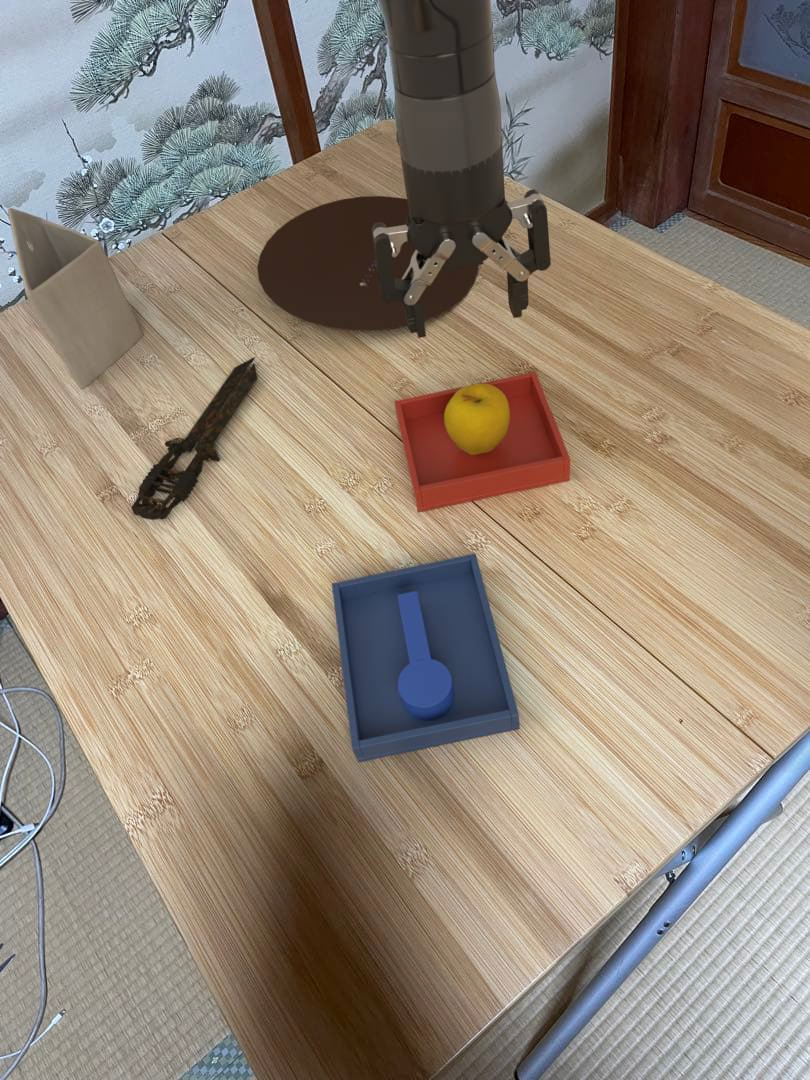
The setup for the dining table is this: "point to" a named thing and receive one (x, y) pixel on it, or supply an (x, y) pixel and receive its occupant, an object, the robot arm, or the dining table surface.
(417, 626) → the spoon
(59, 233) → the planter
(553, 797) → the dining table surface
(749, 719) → the dining table surface
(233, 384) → the knife
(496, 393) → the apple
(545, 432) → the red tray
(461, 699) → the blue tray
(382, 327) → the plate
